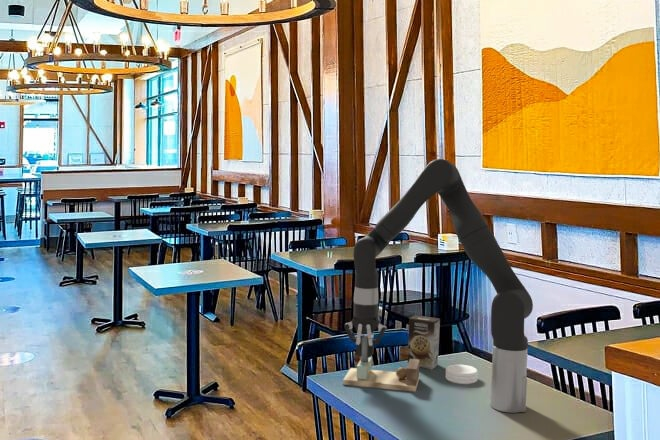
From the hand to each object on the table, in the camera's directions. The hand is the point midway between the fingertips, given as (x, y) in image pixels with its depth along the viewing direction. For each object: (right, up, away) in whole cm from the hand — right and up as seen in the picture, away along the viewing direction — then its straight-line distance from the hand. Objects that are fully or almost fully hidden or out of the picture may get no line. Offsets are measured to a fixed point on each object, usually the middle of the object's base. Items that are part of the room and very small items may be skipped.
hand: (364, 356), depth 193 cm
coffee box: (+21, -7, +17) cm, 28 cm away
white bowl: (+31, -8, +4) cm, 32 cm away
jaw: (0, -6, 0) cm, 6 cm away
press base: (+5, -8, -1) cm, 9 cm away
